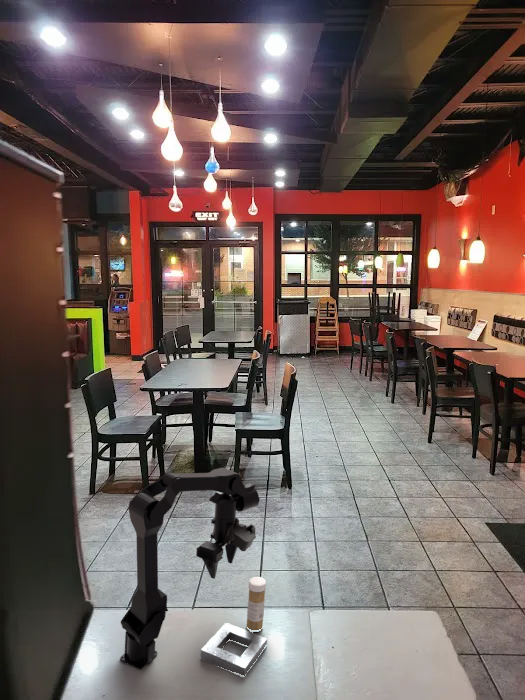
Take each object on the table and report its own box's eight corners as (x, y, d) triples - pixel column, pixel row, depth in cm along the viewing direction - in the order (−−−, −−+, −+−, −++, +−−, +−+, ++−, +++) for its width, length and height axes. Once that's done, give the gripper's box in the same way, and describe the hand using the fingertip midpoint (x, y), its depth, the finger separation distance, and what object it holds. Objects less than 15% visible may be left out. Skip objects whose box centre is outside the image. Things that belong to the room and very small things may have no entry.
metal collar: (200, 659, 119) (201, 649, 119) (225, 631, 130) (225, 622, 129) (244, 678, 114) (244, 668, 113) (266, 647, 124) (267, 638, 124)
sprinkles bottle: (255, 621, 135) (258, 574, 134) (266, 629, 131) (269, 581, 130) (242, 627, 132) (245, 579, 131) (253, 636, 128) (256, 587, 127)
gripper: (234, 536, 122) (230, 596, 123) (266, 510, 139) (262, 563, 140) (196, 525, 127) (193, 583, 128) (232, 501, 144) (228, 553, 145)
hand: (221, 570), depth 135 cm, fingers open, 9 cm apart
